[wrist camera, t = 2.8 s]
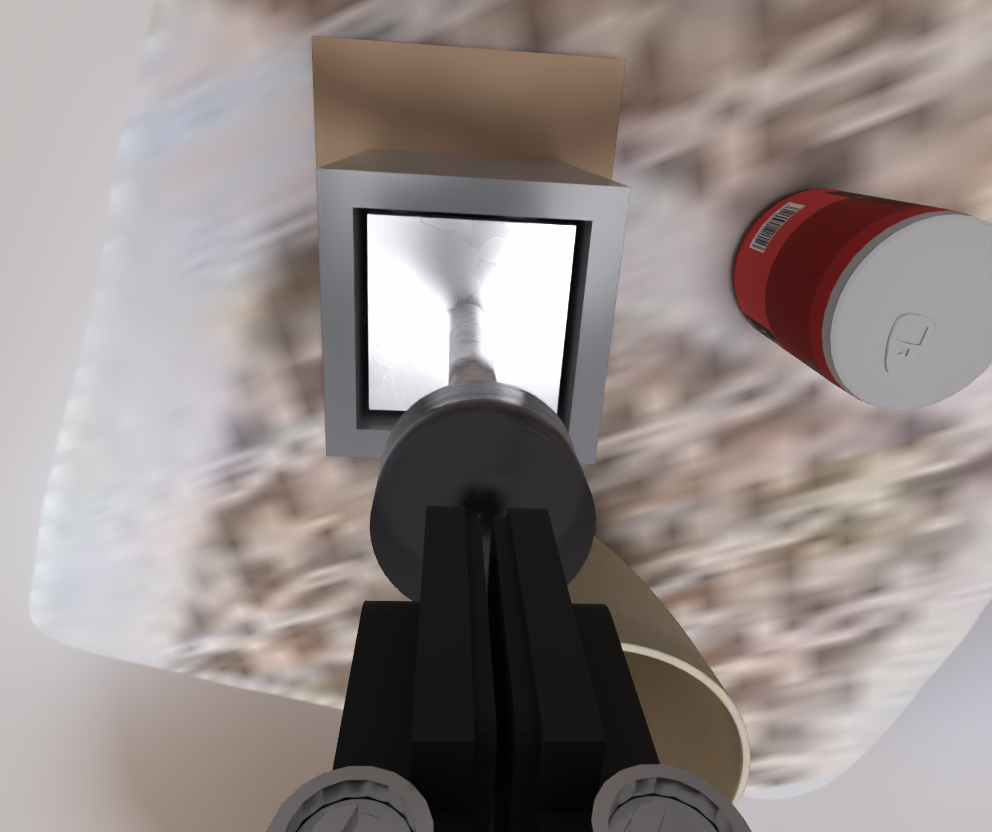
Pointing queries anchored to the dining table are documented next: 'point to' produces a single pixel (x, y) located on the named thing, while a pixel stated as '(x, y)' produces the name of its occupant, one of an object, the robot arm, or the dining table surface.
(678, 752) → the plant pot
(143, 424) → the dining table surface
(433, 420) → the plunger
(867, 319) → the canned food
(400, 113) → the board
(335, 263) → the grey boxy piece
